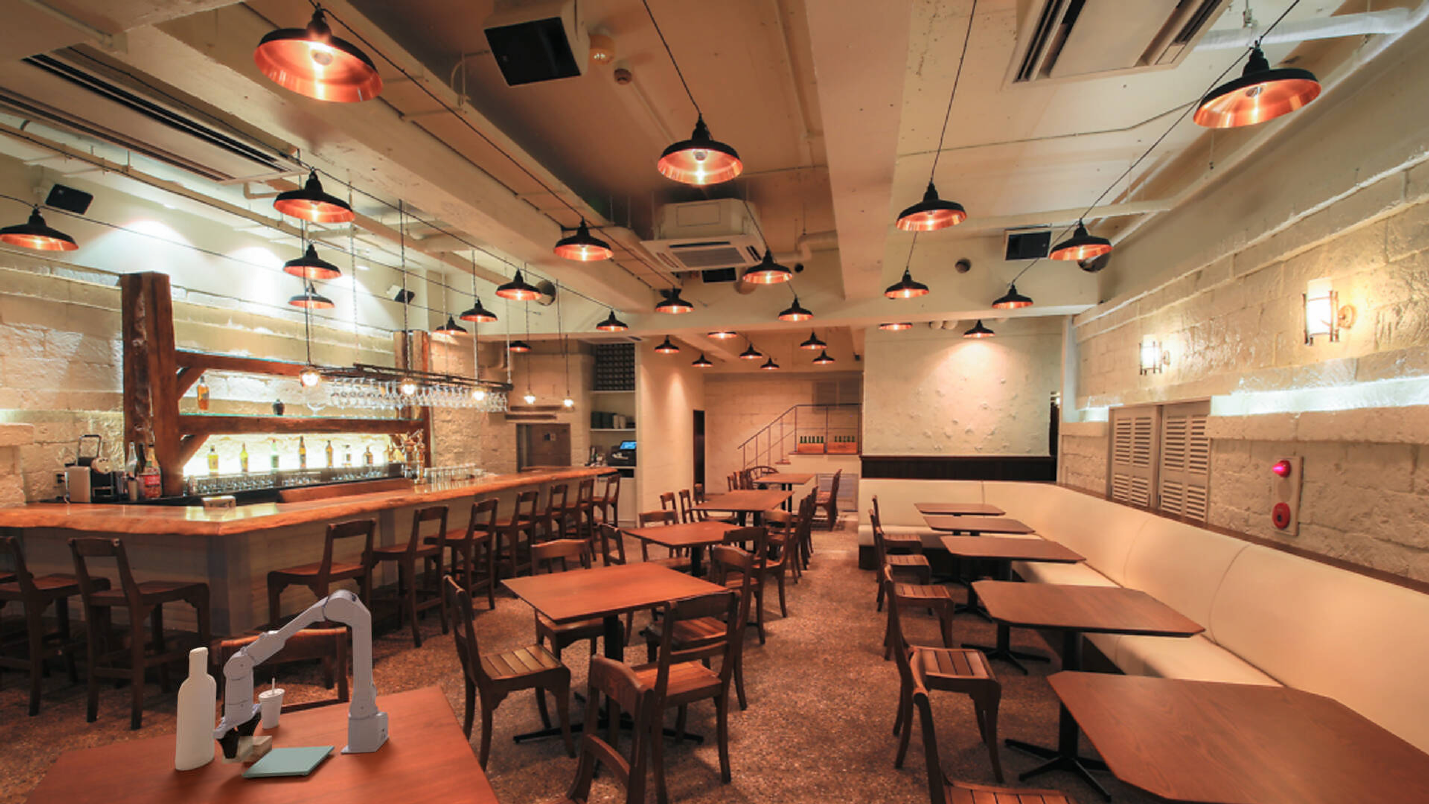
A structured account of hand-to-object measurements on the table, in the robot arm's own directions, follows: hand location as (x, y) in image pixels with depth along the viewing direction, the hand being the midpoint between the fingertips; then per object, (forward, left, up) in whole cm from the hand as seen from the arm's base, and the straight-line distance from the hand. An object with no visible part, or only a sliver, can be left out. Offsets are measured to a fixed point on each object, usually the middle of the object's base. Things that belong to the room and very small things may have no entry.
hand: (237, 752), depth 153 cm
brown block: (0, -7, -5) cm, 9 cm away
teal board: (-12, -2, -5) cm, 13 cm away
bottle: (+15, -6, -5) cm, 17 cm away
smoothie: (+8, -25, -5) cm, 27 cm away
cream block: (0, 0, -2) cm, 2 cm away
